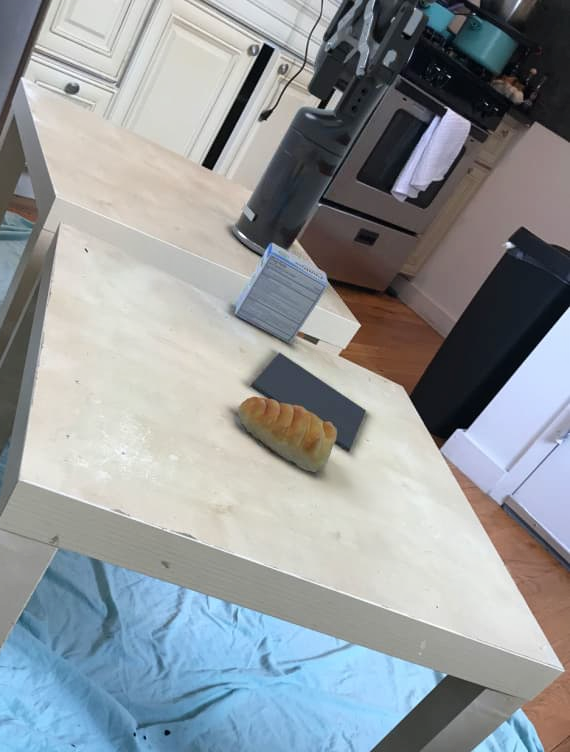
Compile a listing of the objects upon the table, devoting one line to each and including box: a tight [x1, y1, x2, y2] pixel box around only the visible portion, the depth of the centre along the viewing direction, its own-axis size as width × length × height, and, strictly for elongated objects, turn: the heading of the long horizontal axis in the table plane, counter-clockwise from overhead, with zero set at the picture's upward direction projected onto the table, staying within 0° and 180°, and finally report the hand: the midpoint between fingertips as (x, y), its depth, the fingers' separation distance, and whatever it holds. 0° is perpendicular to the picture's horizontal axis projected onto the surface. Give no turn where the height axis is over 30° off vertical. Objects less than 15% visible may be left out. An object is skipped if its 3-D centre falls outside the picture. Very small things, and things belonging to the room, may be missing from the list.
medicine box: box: [234, 243, 329, 345], centre depth 89 cm, size 8×4×9 cm, turn 84°
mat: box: [250, 352, 367, 452], centre depth 81 cm, size 12×12×1 cm
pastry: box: [237, 396, 337, 473], centre depth 69 cm, size 9×7×4 cm
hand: (327, 107), depth 73 cm, fingers open, 8 cm apart
